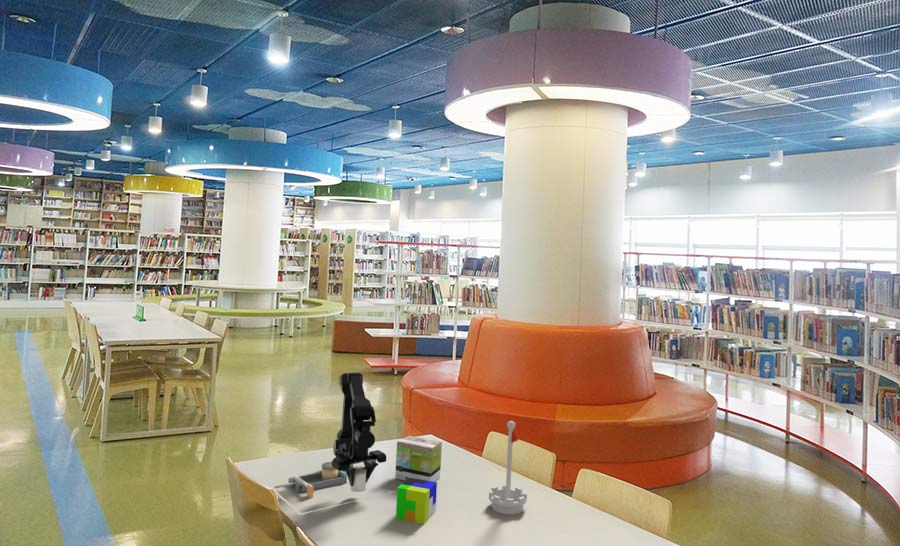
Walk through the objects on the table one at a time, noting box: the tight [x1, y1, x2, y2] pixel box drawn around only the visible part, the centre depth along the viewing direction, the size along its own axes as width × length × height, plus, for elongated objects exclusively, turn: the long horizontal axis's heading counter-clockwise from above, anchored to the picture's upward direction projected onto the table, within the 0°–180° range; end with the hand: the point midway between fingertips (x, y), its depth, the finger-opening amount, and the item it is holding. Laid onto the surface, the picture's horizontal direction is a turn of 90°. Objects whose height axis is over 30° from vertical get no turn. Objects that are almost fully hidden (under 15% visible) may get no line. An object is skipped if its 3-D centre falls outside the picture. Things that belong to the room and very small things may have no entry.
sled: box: [273, 474, 314, 499], centre depth 203 cm, size 10×14×4 cm
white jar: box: [350, 466, 367, 493], centre depth 201 cm, size 5×5×7 cm
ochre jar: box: [321, 461, 338, 481], centre depth 216 cm, size 6×6×6 cm
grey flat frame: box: [287, 471, 348, 494], centre depth 213 cm, size 18×10×4 cm, turn 128°
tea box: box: [394, 435, 443, 482], centre depth 223 cm, size 15×10×15 cm, turn 68°
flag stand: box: [488, 420, 528, 515], centre depth 200 cm, size 13×13×30 cm
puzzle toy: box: [395, 477, 438, 525], centre depth 191 cm, size 10×10×10 cm
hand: (358, 484), depth 201 cm, fingers closed on white jar, 5 cm apart
